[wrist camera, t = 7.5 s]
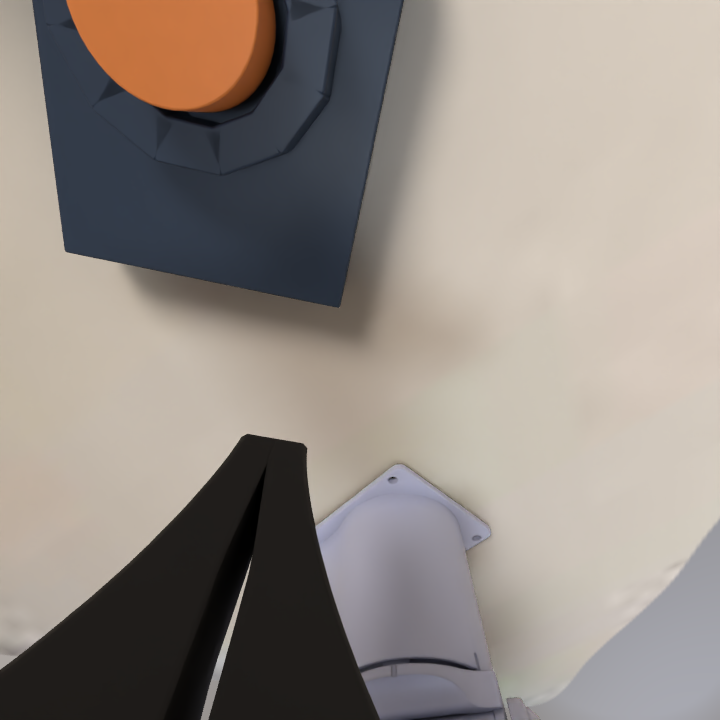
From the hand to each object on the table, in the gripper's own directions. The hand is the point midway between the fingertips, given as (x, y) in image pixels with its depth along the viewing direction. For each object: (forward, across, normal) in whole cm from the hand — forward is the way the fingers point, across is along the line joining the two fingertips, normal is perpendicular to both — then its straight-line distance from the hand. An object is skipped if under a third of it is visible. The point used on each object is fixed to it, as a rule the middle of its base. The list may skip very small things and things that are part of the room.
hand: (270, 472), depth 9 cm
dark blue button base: (+10, +4, -7) cm, 13 cm away
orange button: (+6, +4, -8) cm, 11 cm away
